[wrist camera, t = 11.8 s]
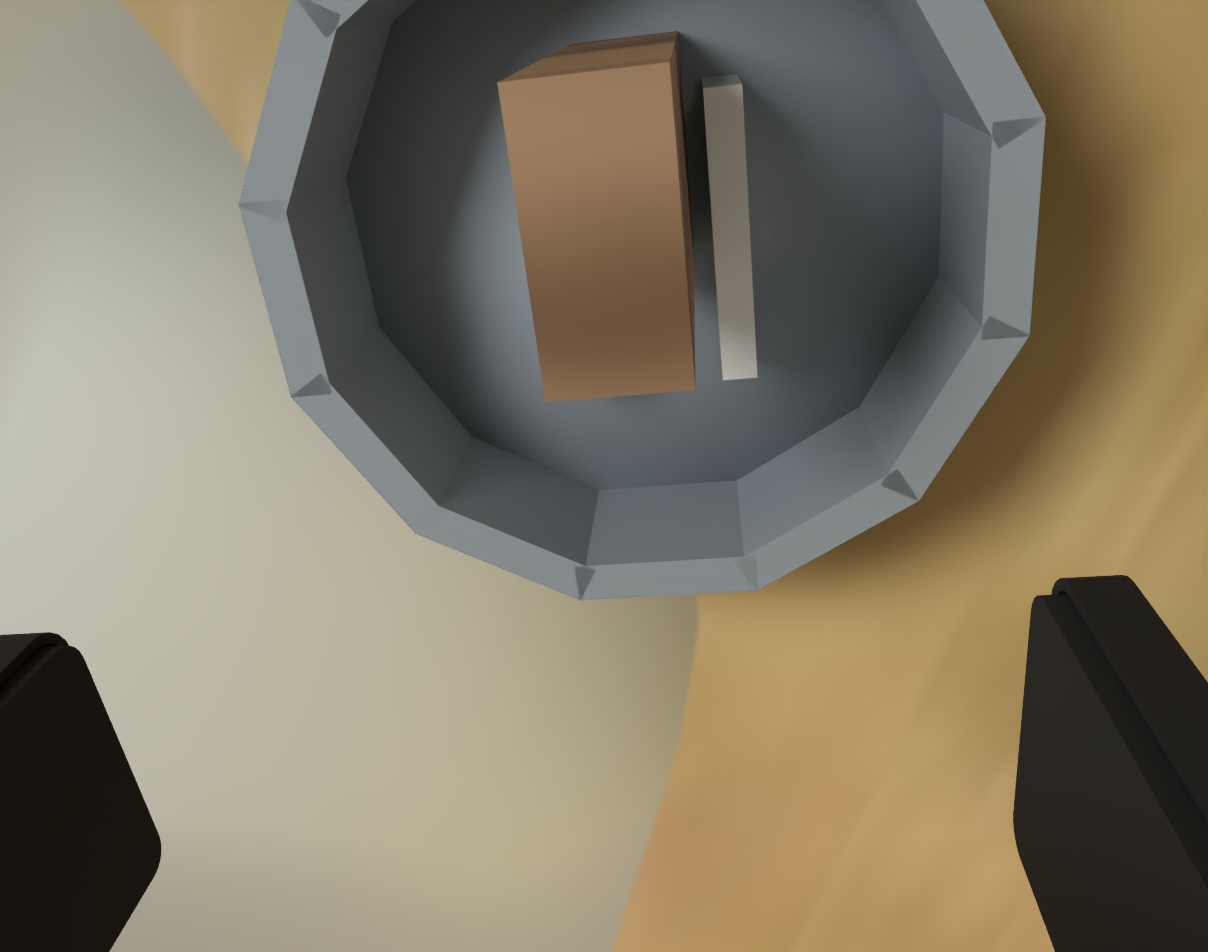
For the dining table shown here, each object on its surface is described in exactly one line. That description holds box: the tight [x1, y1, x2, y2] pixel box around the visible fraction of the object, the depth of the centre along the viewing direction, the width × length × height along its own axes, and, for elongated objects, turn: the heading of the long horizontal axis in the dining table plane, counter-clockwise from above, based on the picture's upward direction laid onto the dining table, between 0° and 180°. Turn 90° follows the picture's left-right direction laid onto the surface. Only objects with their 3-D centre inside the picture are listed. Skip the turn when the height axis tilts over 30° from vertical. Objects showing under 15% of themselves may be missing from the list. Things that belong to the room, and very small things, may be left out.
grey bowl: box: [239, 0, 1046, 600], centre depth 29 cm, size 20×20×6 cm
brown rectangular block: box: [497, 31, 696, 402], centre depth 24 cm, size 6×3×12 cm, turn 6°
